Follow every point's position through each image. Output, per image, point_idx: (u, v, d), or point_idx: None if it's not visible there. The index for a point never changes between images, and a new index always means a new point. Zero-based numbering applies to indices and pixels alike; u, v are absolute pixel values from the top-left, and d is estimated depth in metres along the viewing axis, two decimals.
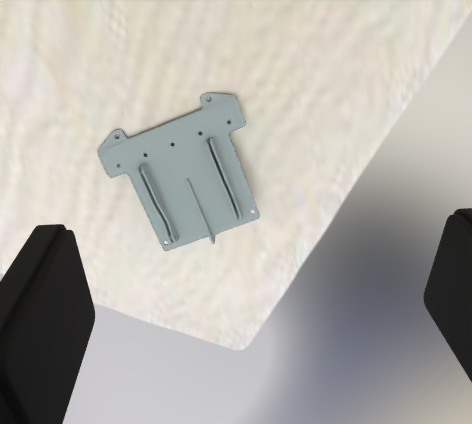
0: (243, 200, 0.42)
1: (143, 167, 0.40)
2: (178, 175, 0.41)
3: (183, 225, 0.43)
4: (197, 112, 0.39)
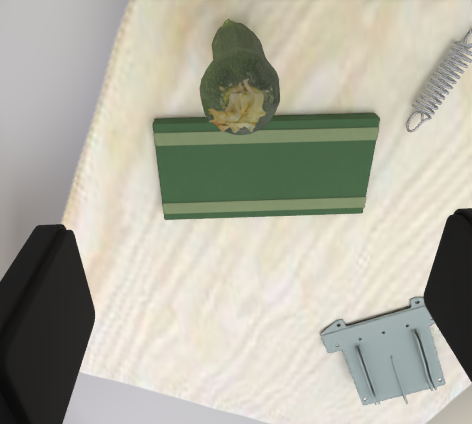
0: (433, 371, 0.53)
1: (362, 351, 0.51)
2: (383, 353, 0.52)
3: (381, 387, 0.54)
4: (407, 311, 0.50)
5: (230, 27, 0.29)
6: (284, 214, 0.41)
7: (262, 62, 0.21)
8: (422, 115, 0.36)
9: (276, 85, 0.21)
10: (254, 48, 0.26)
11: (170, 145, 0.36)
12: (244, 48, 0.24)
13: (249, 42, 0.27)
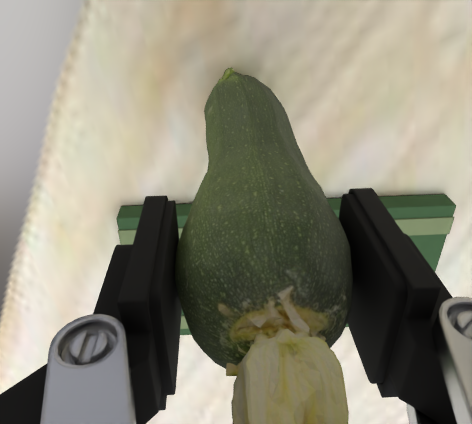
0: None
1: None
2: None
3: None
4: None
5: (235, 86, 0.17)
6: None
7: (319, 225, 0.09)
8: None
9: (350, 275, 0.09)
10: (281, 139, 0.14)
11: None
12: (266, 151, 0.12)
13: (270, 123, 0.15)
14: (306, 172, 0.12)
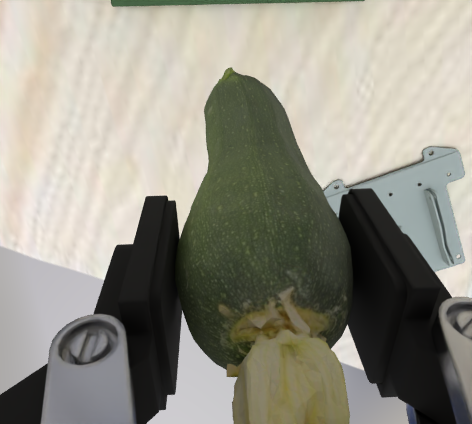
0: (451, 246, 0.44)
1: None
2: None
3: None
4: (420, 165, 0.41)
5: (235, 86, 0.17)
6: (265, 0, 0.32)
7: (319, 226, 0.09)
8: None
9: (351, 275, 0.09)
10: (281, 139, 0.14)
11: None
12: (266, 151, 0.12)
13: (270, 123, 0.15)
14: (306, 172, 0.12)
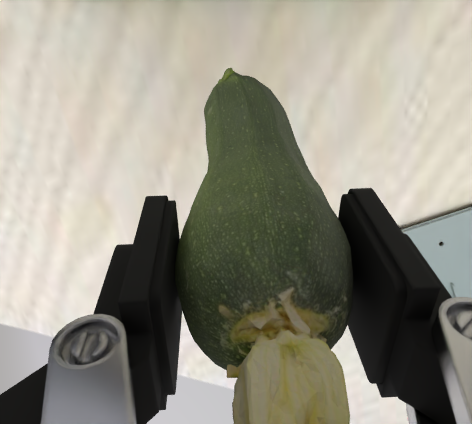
0: None
1: None
2: (440, 278, 0.34)
3: None
4: None
5: (234, 87, 0.17)
6: None
7: (319, 227, 0.09)
8: None
9: (351, 276, 0.09)
10: (281, 140, 0.14)
11: None
12: (266, 152, 0.12)
13: (270, 123, 0.15)
14: (306, 173, 0.12)
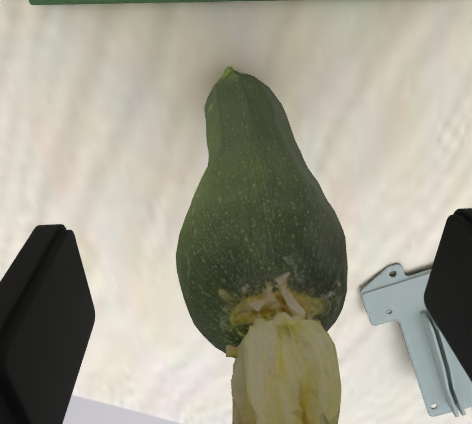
0: None
1: None
2: None
3: (464, 386, 0.31)
4: None
5: (234, 85, 0.18)
6: None
7: (315, 216, 0.09)
8: None
9: (345, 263, 0.09)
10: (279, 135, 0.14)
11: None
12: (264, 147, 0.13)
13: (269, 120, 0.15)
14: (303, 167, 0.13)
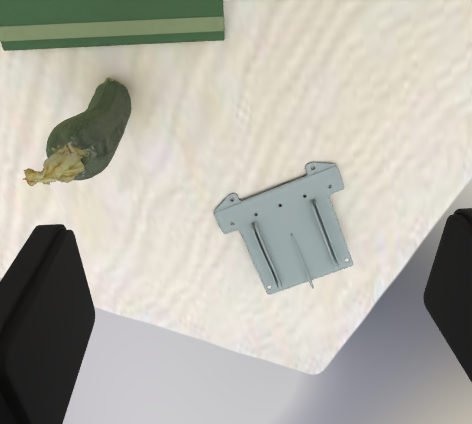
0: (339, 250, 0.48)
1: (256, 226, 0.47)
2: (283, 230, 0.48)
3: (285, 272, 0.50)
4: (303, 178, 0.46)
5: (103, 86, 0.37)
6: (137, 42, 0.37)
7: (87, 127, 0.28)
8: None
9: (100, 143, 0.28)
10: (109, 107, 0.33)
11: None
12: (93, 110, 0.32)
13: (108, 101, 0.34)
14: (110, 119, 0.32)
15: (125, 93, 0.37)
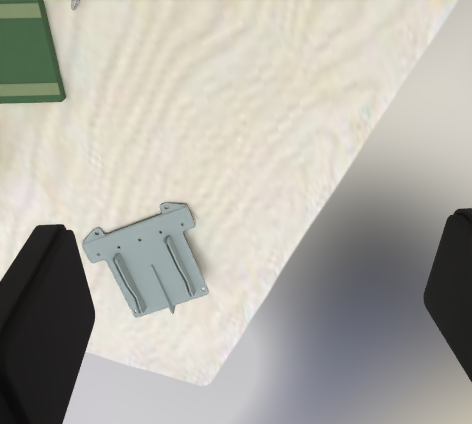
0: (195, 280, 0.54)
1: (117, 258, 0.52)
2: (144, 262, 0.53)
3: (149, 298, 0.55)
4: (158, 217, 0.51)
5: None
6: None
7: None
8: None
9: None
10: None
11: None
12: None
13: None
14: None
15: None
